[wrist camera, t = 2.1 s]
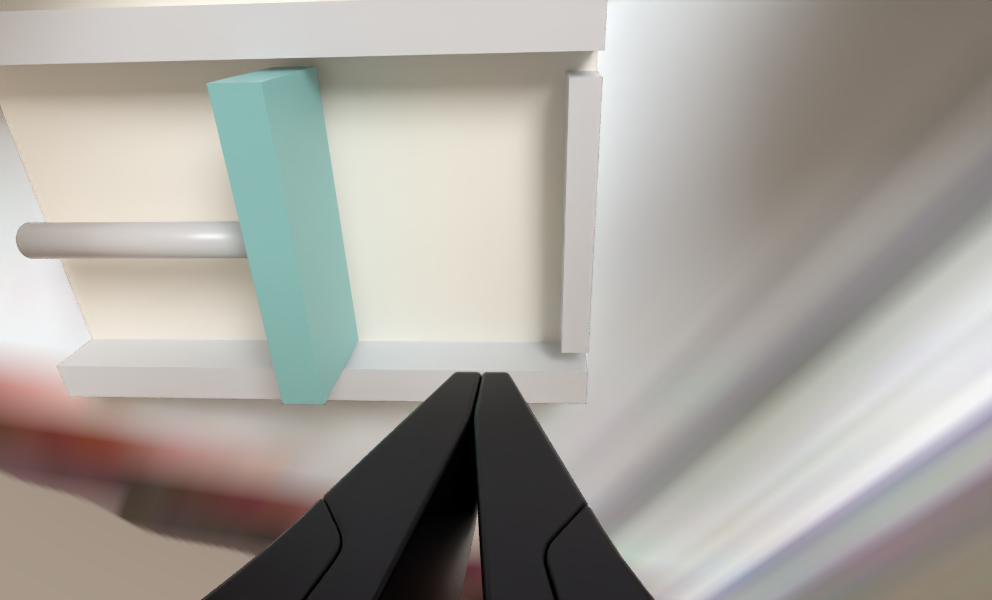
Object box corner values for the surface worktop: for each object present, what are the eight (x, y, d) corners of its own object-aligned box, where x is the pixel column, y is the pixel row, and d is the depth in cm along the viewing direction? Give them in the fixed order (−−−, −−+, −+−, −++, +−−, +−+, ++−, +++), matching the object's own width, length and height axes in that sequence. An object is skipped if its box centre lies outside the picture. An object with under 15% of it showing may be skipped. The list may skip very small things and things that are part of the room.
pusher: (316, 66, 15) (261, 81, 12) (358, 339, 19) (324, 404, 16) (22, 72, 16) (-101, 89, 13) (120, 337, 20) (42, 400, 17)
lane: (598, -19, 15) (608, -23, 13) (580, 367, 21) (585, 411, 18) (-17, 0, 16) (-103, 0, 14) (120, 362, 22) (73, 403, 20)
